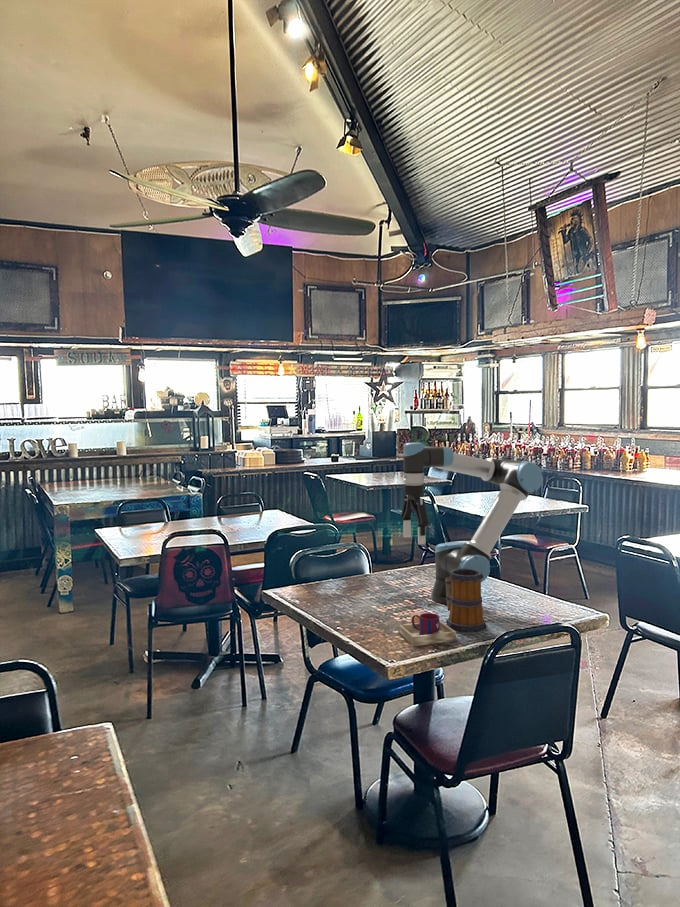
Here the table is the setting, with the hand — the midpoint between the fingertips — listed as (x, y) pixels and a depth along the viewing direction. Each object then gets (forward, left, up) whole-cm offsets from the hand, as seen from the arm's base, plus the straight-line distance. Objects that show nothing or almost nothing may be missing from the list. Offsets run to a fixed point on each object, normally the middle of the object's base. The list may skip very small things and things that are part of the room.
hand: (414, 540), depth 237 cm
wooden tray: (+5, +22, -29) cm, 37 cm away
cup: (+5, +21, -28) cm, 36 cm away
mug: (-12, +15, -29) cm, 35 cm away
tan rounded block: (+2, +9, -29) cm, 30 cm away
